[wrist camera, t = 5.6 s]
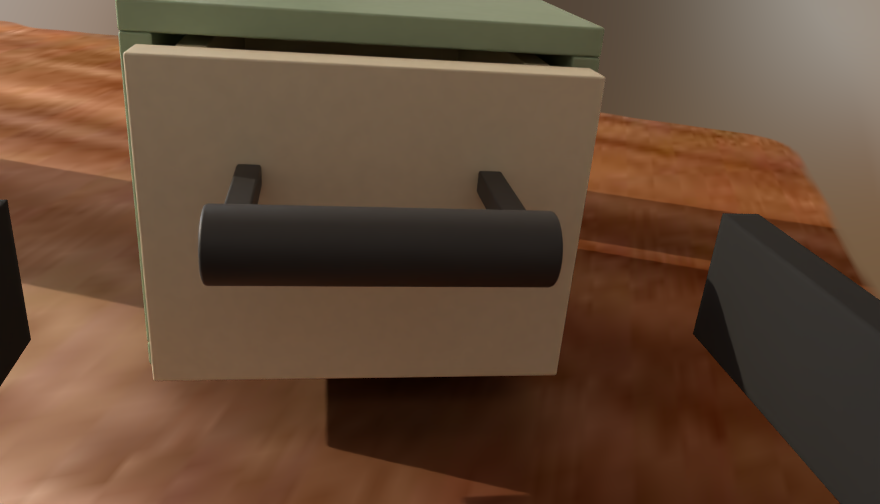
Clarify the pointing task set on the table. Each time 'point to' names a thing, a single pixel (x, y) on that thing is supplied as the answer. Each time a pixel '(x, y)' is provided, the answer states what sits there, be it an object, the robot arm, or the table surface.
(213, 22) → the cabinet
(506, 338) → the drawer
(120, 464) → the table surface
